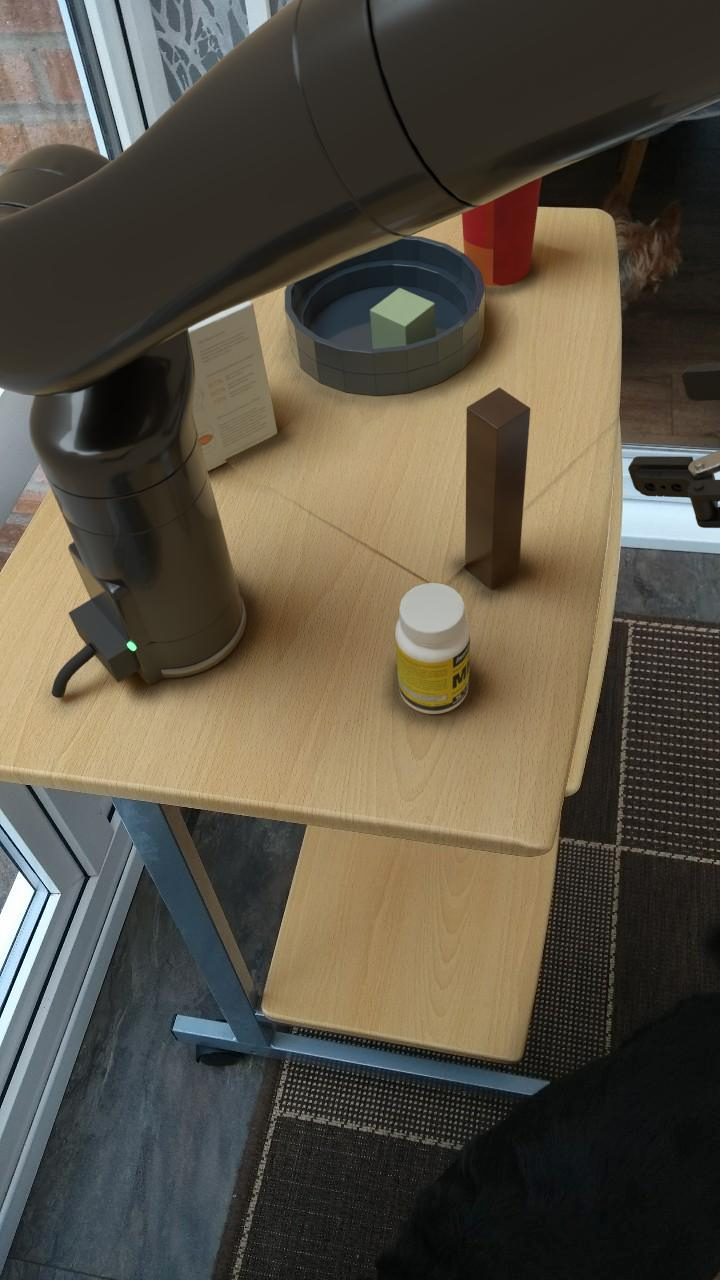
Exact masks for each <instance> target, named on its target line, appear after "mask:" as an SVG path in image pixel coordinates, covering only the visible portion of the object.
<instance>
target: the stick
mask: <svg viewBox="0 0 720 1280" xmlns="http://www.w3.org/2000/svg"><path fill="white" fill-rule="evenodd" d="M465 413H466V421H465V422H466V423H465V425H466V427H465V431H466V432H465V433H466V435H465V454H466V455H465V523H464V525H465V526H464V527H465V528H464V529H465V531H464V532H465V534H464V535H465V536H464V537H465V538H464V543H465V544H464V569H465V570H466V571H468V572H469V573H470V574H471V575H473V576H474V577H475V578H476V579H477V580H479V581H480V582H481V583H483V584H484V586H485V587H487V588H488V589H490V590H493V589H494V588H495V587H497V586H498V585H500V584H501V583H503V582H504V581H506V580H507V579H508V578H510V577H511V576H512V575H514V574H516V573H517V572H518V571H519V570H520V560H521V544H522V531H523V520H524V519H523V518H524V517H523V516H524V504H525V503H524V502H525V490H526V489H525V488H526V478H527V477H526V475H527V465H528V464H527V463H528V448H529V437H530V432H529V431H530V422H531V421H530V420H531V407H530V406H528V405H527V404H525V403H524V402H522V401H521V400H519V399H518V398H516V397H515V396H513V395H512V394H510V393H508V391H505V390H504V389H503V388H501V387H497V388H495V389H493V390H492V391H491V392H489V393H488V394H486V395H484V396H482V397H481V398H480V399H477V400H476V401H474V402H473V403H471V404H470V405H468V406H467V407H466V412H465Z"/></svg>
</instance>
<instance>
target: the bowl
mask: <svg viewBox="0 0 720 1280" xmlns="http://www.w3.org/2000/svg"><path fill="white" fill-rule="evenodd" d="M398 288H401V289H404V290H406V291H408V292H410V293H413V294H415V295H417V296H420V297H422V298H424V299H427V300H429V301H431V302H433V303H435V333H436V336H435V337H433V338H430V339H426V340H423V341H420V342H416V343H413V344H410V345H406V346H398V347H387V348H376V349H373V343H372V330H371V317H370V310H371V309H372V308H373V307H375V306H376V305H377V304H378V303H380V302H381V301H382V300H384V299H385V298H386V297H388V296H389V295H390V294H392V293H393V292H394V291H396V290H397V289H398ZM485 301H486V288H485V285H484V283H483V279H482V274H481V271H480V270H479V269H478V268H477V266H476V265H475V264H474V263H473V262H472V260H471V259H470V258H469V257H468V256H467V255H465V254H464V252H462V251H460V250H458V249H457V248H455V247H453V246H452V245H450V244H448V243H445V242H441V241H439V240H435V239H432V238H428V237H424V236H418V235H411V236H409V237H406V238H404V239H401V240H399V241H396V242H393V243H390V244H388V245H385V246H382V247H379V248H377V249H374V250H371V251H369V252H366V253H364V254H361V255H359V256H356V257H354V258H351V259H349V260H347V261H344V262H342V263H339V264H337V265H335V266H333V267H330V268H328V269H326V270H323V271H321V272H319V273H316V274H314V275H312V276H310V277H307V278H305V279H303V280H300V281H298V282H296V283H293V284H291V285H288V286H285V290H284V313H285V314H284V315H285V319H286V320H285V321H286V327H287V332H288V339H289V346H290V351H291V353H292V356H293V357H294V359H295V361H296V362H297V364H298V366H299V367H300V369H301V370H302V371H304V372H305V373H306V374H307V375H309V376H310V377H312V378H313V379H314V380H316V381H317V382H318V383H320V384H323V385H325V386H328V387H331V388H333V389H336V390H339V391H342V392H345V393H349V394H357V395H368V396H374V397H375V396H377V397H379V396H391V395H401V394H409V393H410V394H411V393H413V392H417V391H420V390H423V389H426V388H430V387H433V386H436V385H439V384H440V383H442V382H444V381H446V380H447V379H448V378H451V377H452V376H454V375H456V374H457V373H459V372H460V371H462V370H463V369H464V368H465V367H466V366H467V365H468V364H469V363H470V362H471V361H472V359H473V358H474V357H475V356H476V355H477V353H478V352H479V350H480V346H481V344H482V340H483V337H484V334H485V306H486V305H485V304H486V303H485Z"/></svg>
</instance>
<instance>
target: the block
mask: <svg viewBox="0 0 720 1280" xmlns="http://www.w3.org/2000/svg"><path fill="white" fill-rule="evenodd" d="M370 317H371V330H372V343H373V349H376V348H387V347H398V346H406V345H410V344H413V343H416V342H420V341H423V340H426V339H430V338H433V337H435V336H436V333H435V303H433V302H431V301H429V300H427V299H424V298H422V297H420V296H417V295H415V294H413V293H410V292H408V291H406V290H404V289H401V288H398V289H397V290H396V291H394V292H393V293H392V294H390V295H389V296H388V297H386V298H385V299H384V300H382V301H381V302H380V303H378V304H377V305H376V306H375V307H373V308H372V309H371V310H370Z"/></svg>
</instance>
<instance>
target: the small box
mask: <svg viewBox="0 0 720 1280" xmlns="http://www.w3.org/2000/svg"><path fill="white" fill-rule="evenodd" d="M257 322H258V321H257V317H256V313H255V307H254V303H253V302H252V300H250V301H248V302H245V303H242V304H240V305H237V306H235V307H233V308H230V309H228V310H225V311H223V312H220V313H218V314H216V315H214V316H212V317H210V318H208V319H206V320H204V321H202V322H200V323H198V324H196V325H194V326H192V327H190V328H188V331H189V337H190V342H191V347H192V352H193V358H194V365H195V390H194V397H193V406H192V411H193V416H194V420H195V424H196V429H197V433H198V437H199V440H200V444H201V448H202V452H203V456H204V460H205V464H206V467H207V471H208V472H210V471H211V470H214V469H216V468H218V467H220V466H221V465H223V464H226V463H228V461H227V459H229V458H231V457H233V456H235V455H238V454H240V453H241V452H243V451H246V450H248V449H250V448H251V447H254V446H256V445H258V444H260V443H262V442H264V441H266V440H268V439H270V438H271V437H274V436H275V435H277V434H278V428H277V421H276V418H275V413H274V412H275V411H274V406H273V399H272V394H271V390H270V385H269V379H268V375H267V369H266V364H265V359H264V354H263V350H262V344H261V338H260V332H259V327H258V323H257Z"/></svg>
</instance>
